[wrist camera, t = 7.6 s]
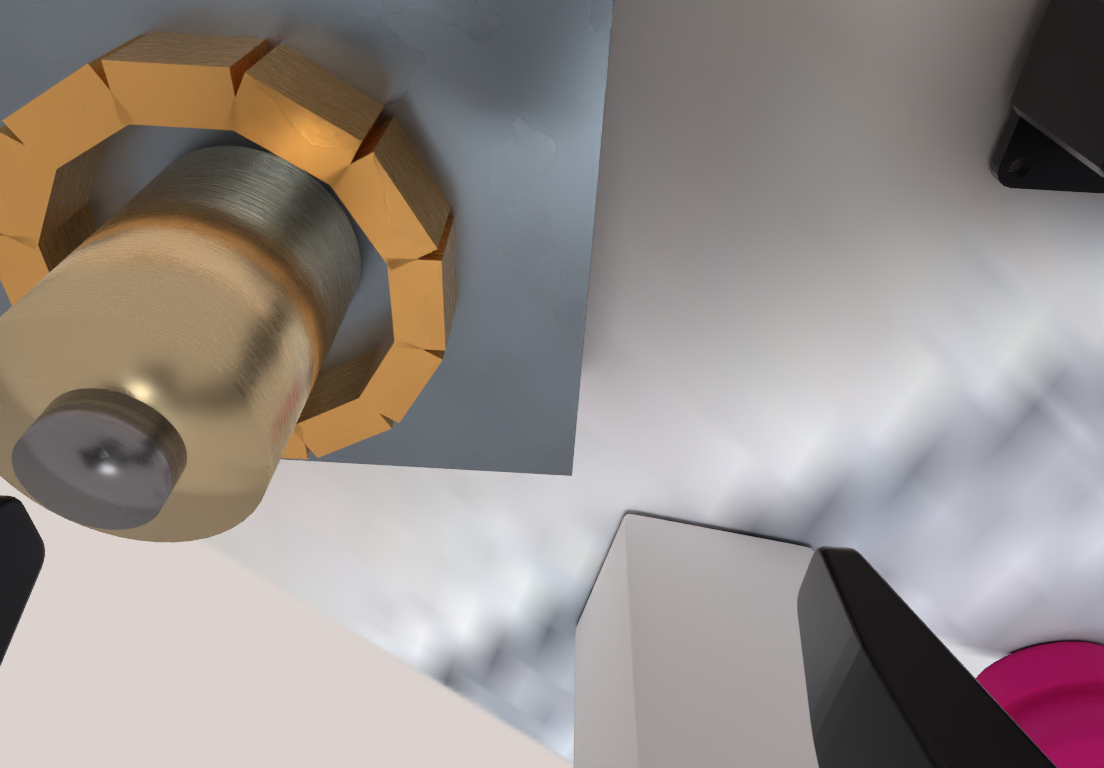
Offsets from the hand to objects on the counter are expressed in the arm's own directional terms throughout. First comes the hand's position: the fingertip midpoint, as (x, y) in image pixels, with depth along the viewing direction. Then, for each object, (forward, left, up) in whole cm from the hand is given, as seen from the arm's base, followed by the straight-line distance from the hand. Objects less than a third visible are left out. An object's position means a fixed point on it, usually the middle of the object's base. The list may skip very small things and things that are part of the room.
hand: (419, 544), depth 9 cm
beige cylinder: (+5, +1, -8) cm, 10 cm away
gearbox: (+6, +1, -13) cm, 14 cm away
